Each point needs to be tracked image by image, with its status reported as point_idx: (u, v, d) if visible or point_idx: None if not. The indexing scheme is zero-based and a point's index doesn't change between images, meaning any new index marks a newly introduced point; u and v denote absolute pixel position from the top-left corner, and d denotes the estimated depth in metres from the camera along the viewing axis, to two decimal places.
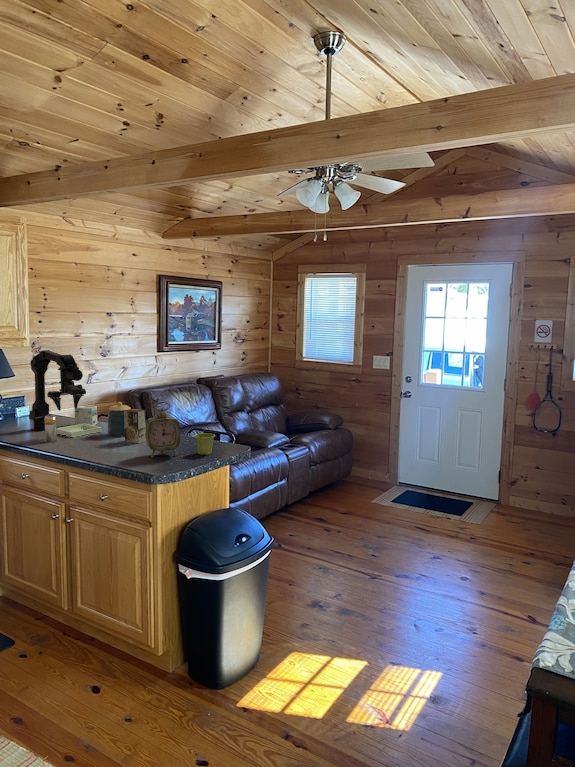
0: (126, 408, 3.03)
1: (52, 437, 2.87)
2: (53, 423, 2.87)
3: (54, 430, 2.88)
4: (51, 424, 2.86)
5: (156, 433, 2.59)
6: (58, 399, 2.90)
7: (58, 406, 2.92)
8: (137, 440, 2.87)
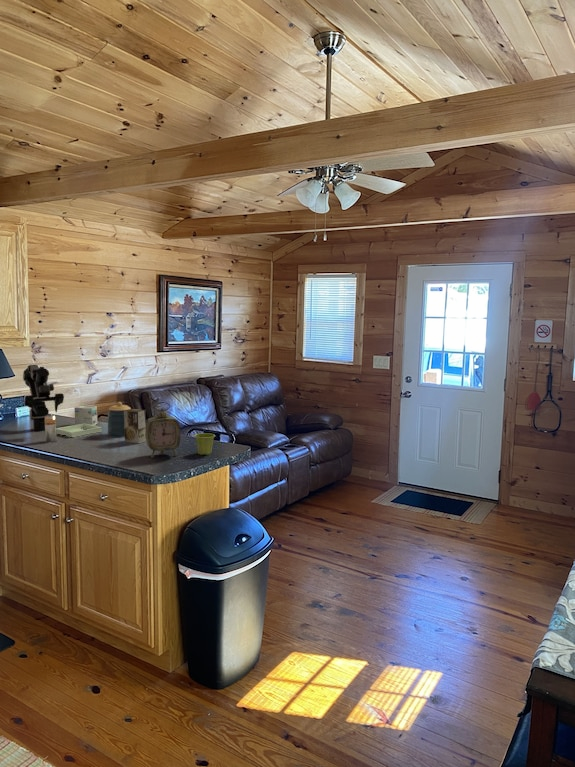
0: (126, 408, 3.03)
1: (52, 437, 2.87)
2: (53, 423, 2.87)
3: (54, 430, 2.88)
4: (51, 424, 2.86)
5: (156, 433, 2.59)
6: (32, 401, 2.92)
7: (34, 409, 2.92)
8: (137, 440, 2.87)
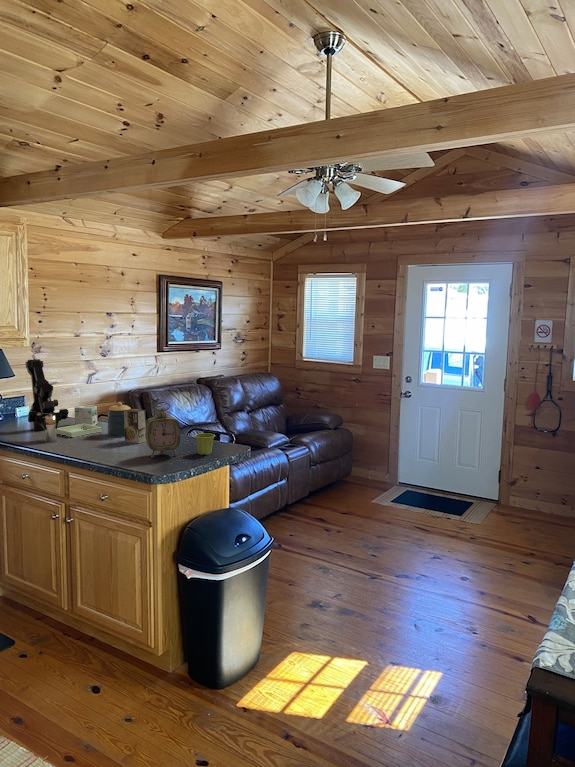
0: (126, 408, 3.03)
1: (52, 437, 2.87)
2: (53, 423, 2.87)
3: (54, 430, 2.88)
4: (51, 424, 2.86)
5: (156, 433, 2.59)
6: (40, 417, 2.87)
7: (43, 425, 2.86)
8: (137, 440, 2.87)
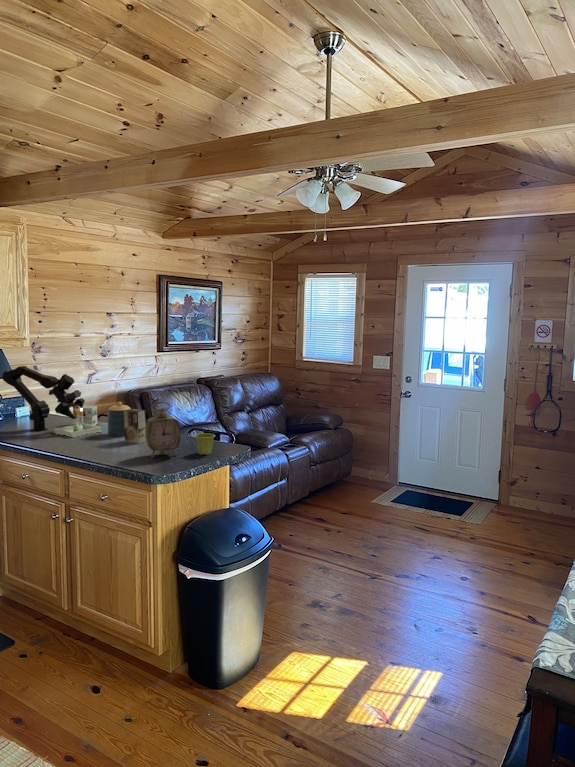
0: (126, 408, 3.03)
1: (82, 427, 3.09)
2: None
3: None
4: (82, 415, 3.08)
5: (155, 433, 2.59)
6: (67, 407, 3.02)
7: (71, 414, 3.03)
8: (137, 440, 2.87)
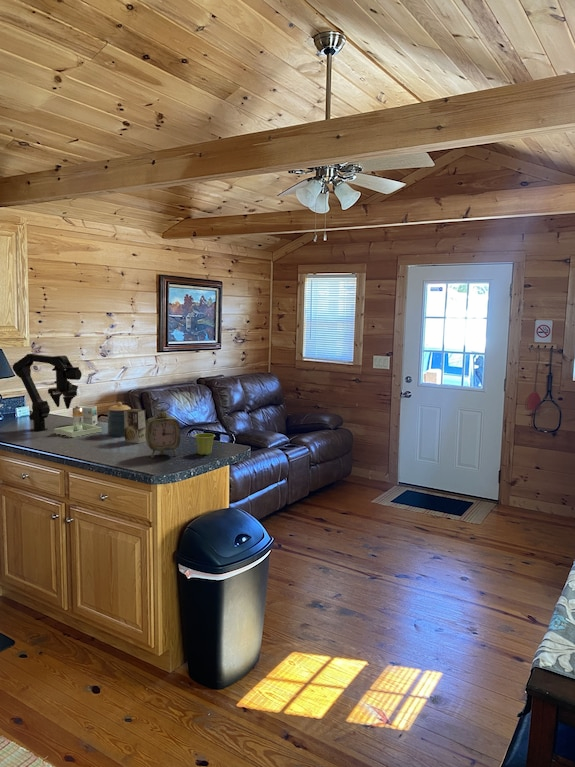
0: (126, 408, 3.03)
1: (82, 427, 3.09)
2: (82, 414, 3.09)
3: (82, 420, 3.10)
4: (81, 415, 3.08)
5: (156, 433, 2.59)
6: None
7: (69, 404, 3.08)
8: (137, 440, 2.87)
